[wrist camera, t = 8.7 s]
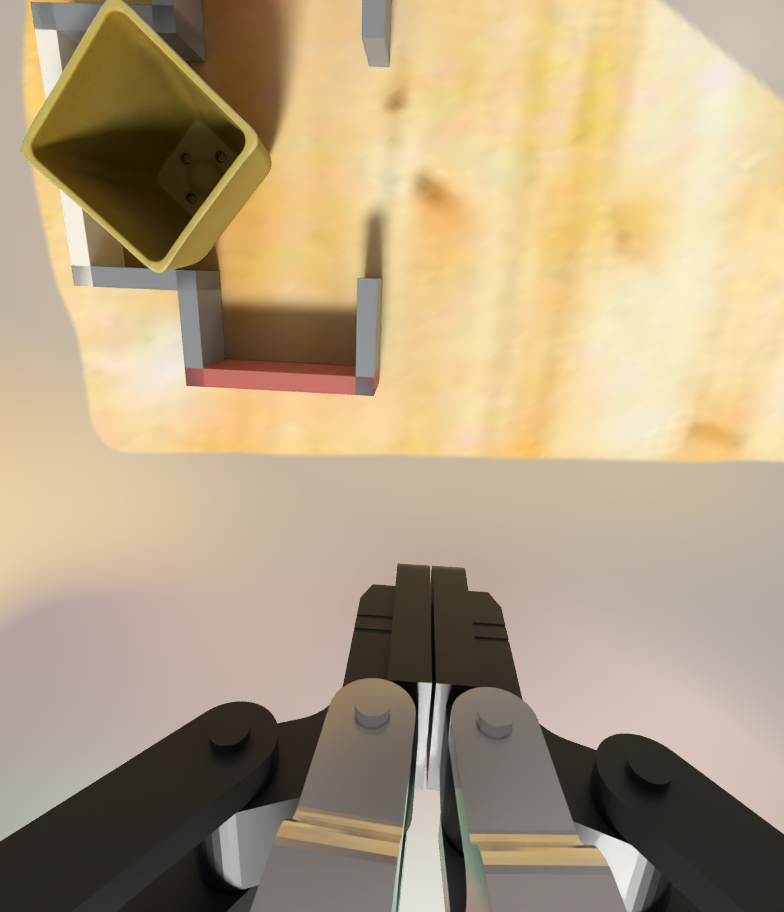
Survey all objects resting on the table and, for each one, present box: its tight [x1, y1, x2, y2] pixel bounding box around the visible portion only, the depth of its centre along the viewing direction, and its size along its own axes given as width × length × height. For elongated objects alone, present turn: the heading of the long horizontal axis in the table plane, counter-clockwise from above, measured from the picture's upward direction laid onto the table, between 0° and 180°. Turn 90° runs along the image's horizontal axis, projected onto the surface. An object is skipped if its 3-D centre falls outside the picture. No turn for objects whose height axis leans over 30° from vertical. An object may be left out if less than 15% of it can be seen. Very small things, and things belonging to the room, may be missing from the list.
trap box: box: [31, 0, 392, 396], centre depth 32 cm, size 26×19×4 cm
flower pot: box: [21, 0, 271, 273], centre depth 29 cm, size 9×9×9 cm
